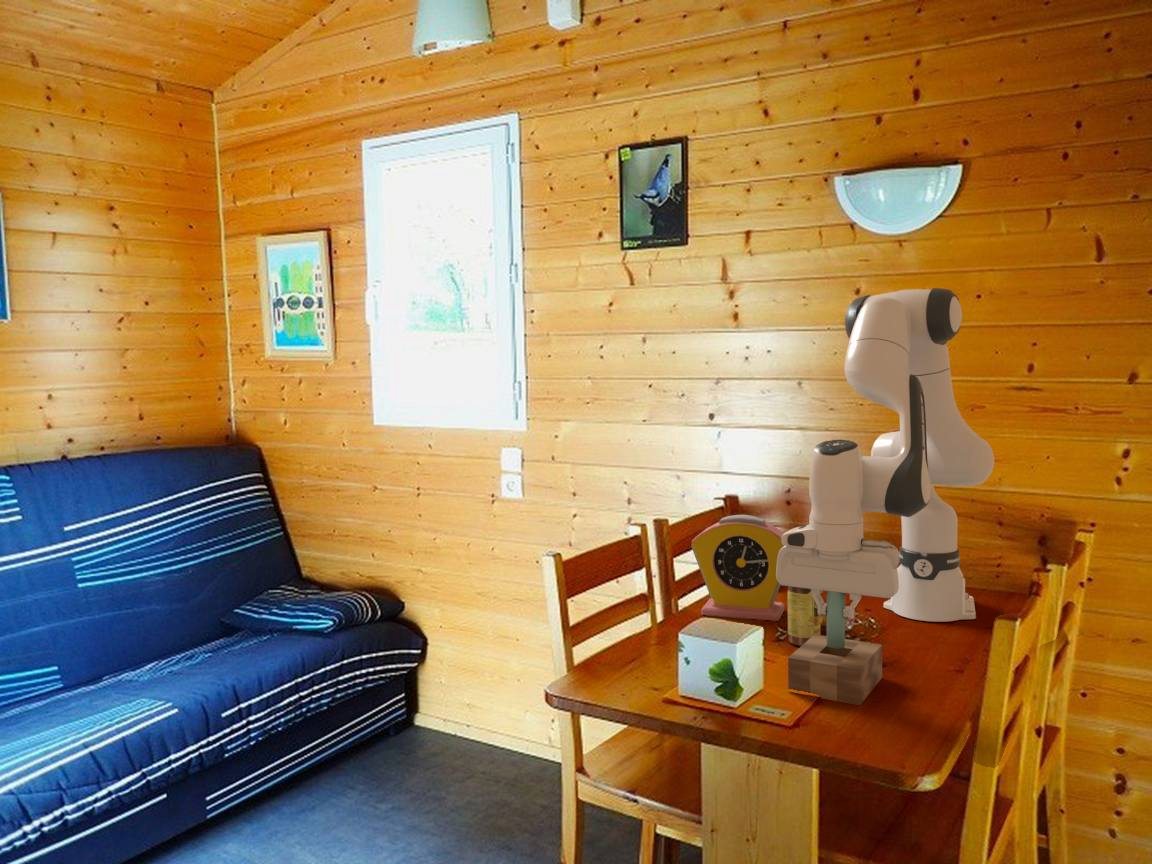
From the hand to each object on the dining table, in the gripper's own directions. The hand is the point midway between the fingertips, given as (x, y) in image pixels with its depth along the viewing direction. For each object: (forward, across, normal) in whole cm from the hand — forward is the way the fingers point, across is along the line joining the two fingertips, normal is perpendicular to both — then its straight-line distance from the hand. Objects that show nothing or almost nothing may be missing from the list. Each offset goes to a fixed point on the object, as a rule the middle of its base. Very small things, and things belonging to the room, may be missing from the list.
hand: (835, 616), depth 158 cm
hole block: (+12, 0, 0) cm, 12 cm away
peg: (+5, 0, 0) cm, 5 cm away
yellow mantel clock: (+12, +30, -32) cm, 46 cm away
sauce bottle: (+12, +12, -19) cm, 26 cm away
